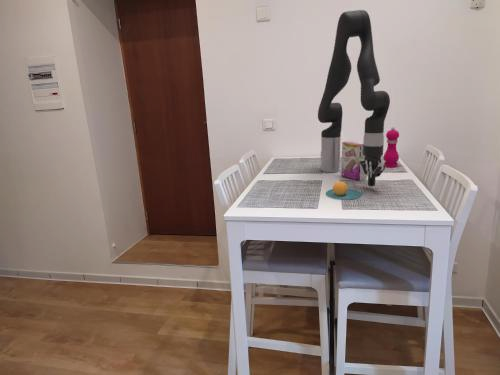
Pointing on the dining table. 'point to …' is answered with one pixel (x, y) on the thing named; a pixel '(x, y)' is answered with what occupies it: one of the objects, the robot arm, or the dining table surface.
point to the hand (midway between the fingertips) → (371, 185)
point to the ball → (340, 188)
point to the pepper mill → (391, 149)
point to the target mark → (348, 196)
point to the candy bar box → (353, 160)
